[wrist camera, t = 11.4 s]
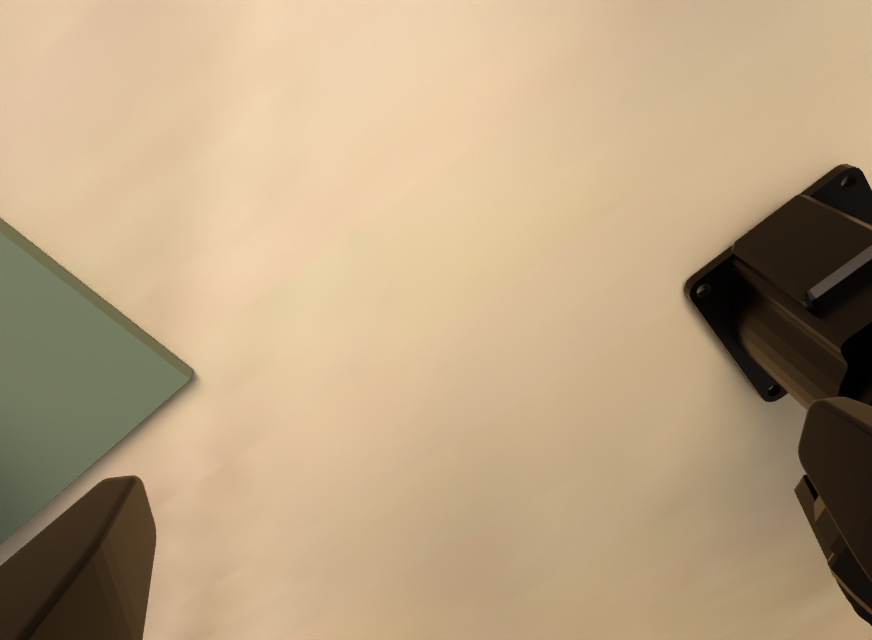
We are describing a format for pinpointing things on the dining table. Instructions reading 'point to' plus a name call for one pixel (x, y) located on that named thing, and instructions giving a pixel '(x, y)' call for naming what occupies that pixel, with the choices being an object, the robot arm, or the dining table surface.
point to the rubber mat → (65, 378)
